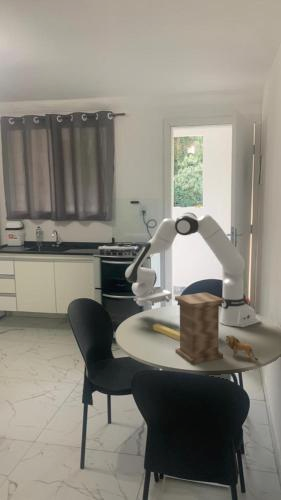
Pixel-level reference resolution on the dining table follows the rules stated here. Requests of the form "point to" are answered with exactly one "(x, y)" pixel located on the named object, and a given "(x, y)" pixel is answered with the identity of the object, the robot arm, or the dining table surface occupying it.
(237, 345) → the lion figurine
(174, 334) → the mustard rod
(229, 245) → the robot arm
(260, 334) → the dining table surface
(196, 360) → the walnut pedestal
